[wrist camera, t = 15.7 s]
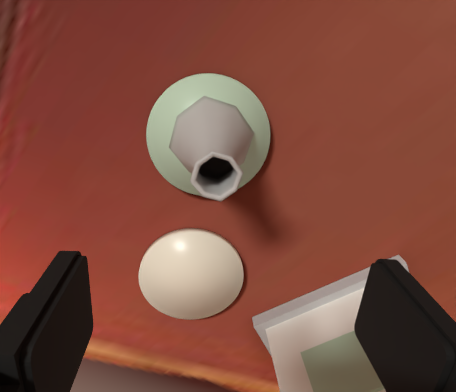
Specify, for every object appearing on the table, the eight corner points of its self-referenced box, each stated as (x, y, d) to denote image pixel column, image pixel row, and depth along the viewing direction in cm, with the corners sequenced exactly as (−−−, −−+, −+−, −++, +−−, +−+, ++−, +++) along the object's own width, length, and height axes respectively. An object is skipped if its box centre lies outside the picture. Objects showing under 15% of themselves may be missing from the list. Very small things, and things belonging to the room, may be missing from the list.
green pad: (275, 78, 30) (277, 79, 29) (261, 194, 34) (262, 198, 33) (147, 68, 29) (145, 68, 28) (148, 189, 33) (147, 193, 32)
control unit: (252, 317, 40) (276, 442, 28) (398, 254, 38) (498, 357, 26) (277, 360, 43) (310, 491, 31) (414, 304, 42) (511, 418, 29)
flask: (220, 191, 33) (229, 246, 24) (154, 148, 31) (135, 191, 22) (268, 129, 31) (297, 163, 22) (201, 79, 29) (202, 93, 20)
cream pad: (247, 229, 36) (248, 234, 35) (237, 313, 40) (238, 319, 39) (138, 226, 35) (137, 231, 34) (141, 312, 39) (139, 319, 38)
